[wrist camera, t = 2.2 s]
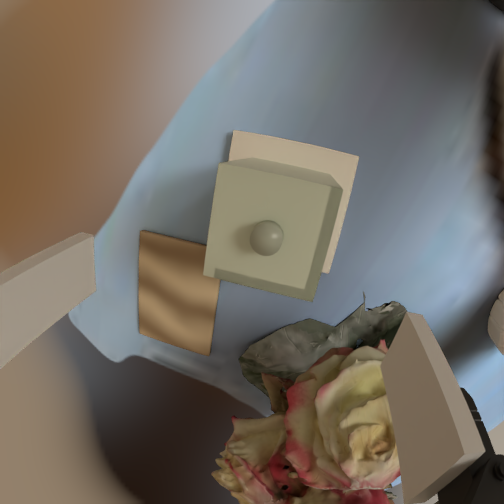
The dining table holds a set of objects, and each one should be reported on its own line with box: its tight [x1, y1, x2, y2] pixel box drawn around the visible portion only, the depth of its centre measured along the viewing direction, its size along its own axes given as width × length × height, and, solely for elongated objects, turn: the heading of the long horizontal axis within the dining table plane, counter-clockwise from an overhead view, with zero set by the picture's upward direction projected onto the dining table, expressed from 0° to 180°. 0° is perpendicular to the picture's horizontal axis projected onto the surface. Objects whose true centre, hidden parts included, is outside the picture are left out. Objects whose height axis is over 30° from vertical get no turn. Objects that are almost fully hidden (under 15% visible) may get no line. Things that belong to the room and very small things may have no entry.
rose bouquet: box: [212, 292, 407, 504], centre depth 25 cm, size 26×29×30 cm
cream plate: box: [228, 130, 359, 274], centre depth 30 cm, size 13×13×3 cm
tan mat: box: [139, 230, 220, 356], centre depth 38 cm, size 16×11×1 cm
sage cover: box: [203, 157, 343, 302], centre depth 25 cm, size 8×8×13 cm
